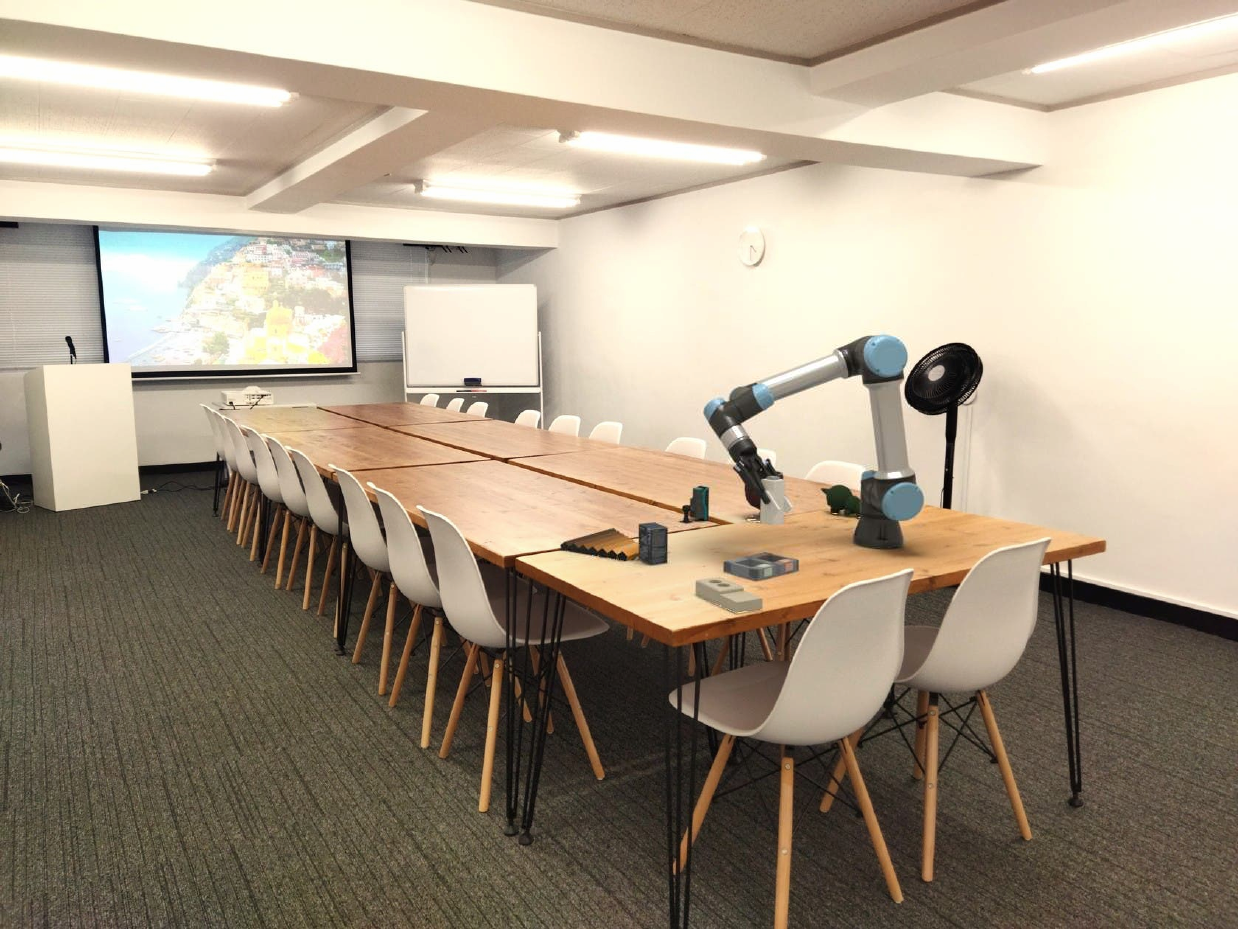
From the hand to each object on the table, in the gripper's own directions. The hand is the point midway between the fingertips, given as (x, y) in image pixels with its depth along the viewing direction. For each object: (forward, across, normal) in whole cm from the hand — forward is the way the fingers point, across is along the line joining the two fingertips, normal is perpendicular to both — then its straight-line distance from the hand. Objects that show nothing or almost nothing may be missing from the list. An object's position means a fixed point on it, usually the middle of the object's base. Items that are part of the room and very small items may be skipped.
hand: (783, 511), depth 231 cm
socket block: (+9, +4, -14) cm, 18 cm away
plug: (0, 0, -5) cm, 5 cm away
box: (-10, +20, -34) cm, 40 cm away
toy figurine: (-13, -81, -37) cm, 90 cm away
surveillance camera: (-34, -30, -58) cm, 74 cm away
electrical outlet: (+20, +32, -5) cm, 38 cm away
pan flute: (-23, +17, -48) cm, 56 cm away
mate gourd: (-25, -50, -48) cm, 74 cm away
